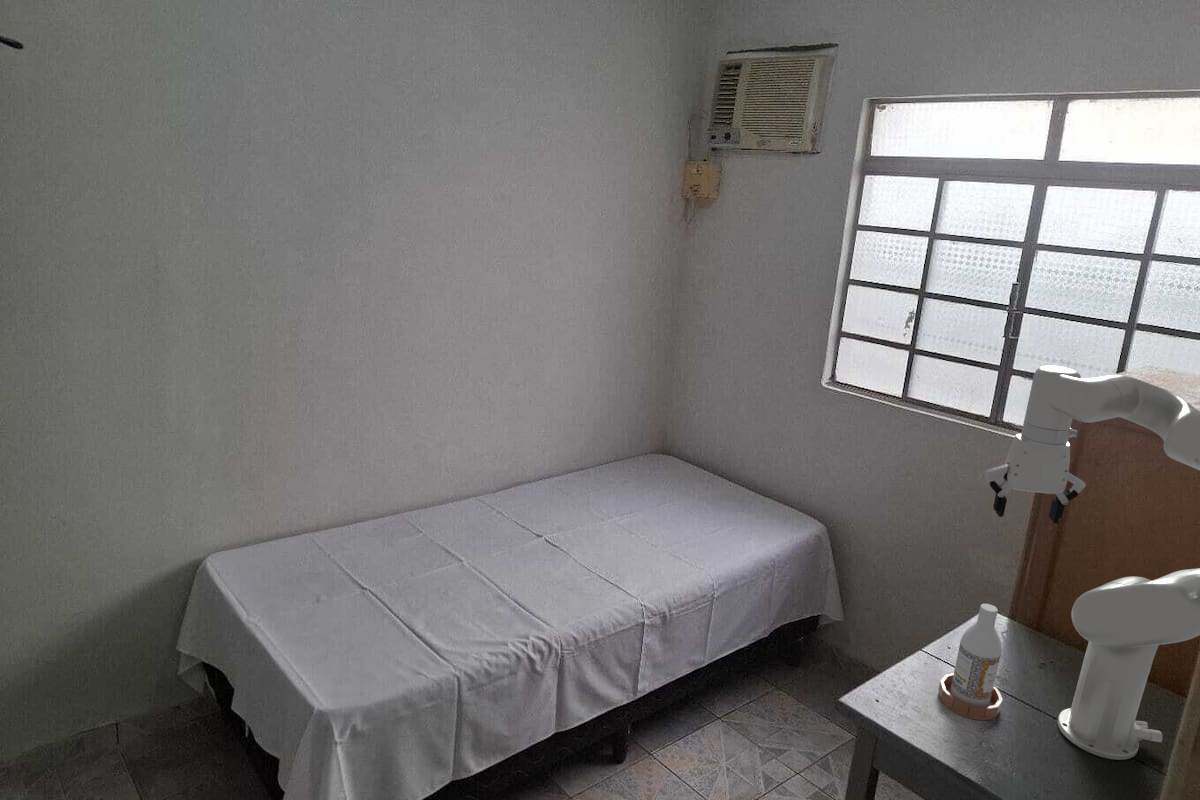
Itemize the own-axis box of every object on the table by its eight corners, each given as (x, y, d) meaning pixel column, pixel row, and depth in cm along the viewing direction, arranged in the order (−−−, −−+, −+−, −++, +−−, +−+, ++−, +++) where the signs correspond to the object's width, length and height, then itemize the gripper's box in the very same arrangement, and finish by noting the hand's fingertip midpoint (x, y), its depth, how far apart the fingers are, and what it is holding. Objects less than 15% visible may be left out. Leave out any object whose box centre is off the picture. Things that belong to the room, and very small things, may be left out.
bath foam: (974, 715, 147) (995, 622, 141) (942, 694, 153) (960, 603, 147) (996, 704, 151) (1018, 611, 145) (964, 683, 156) (983, 594, 150)
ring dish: (991, 689, 156) (993, 677, 155) (1005, 724, 146) (1008, 713, 145) (934, 679, 158) (936, 668, 157) (944, 714, 148) (947, 703, 147)
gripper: (1088, 431, 148) (1068, 514, 154) (989, 421, 152) (973, 503, 157) (1104, 445, 141) (1082, 532, 147) (1000, 434, 145) (982, 519, 150)
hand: (1025, 517), depth 152 cm, fingers open, 9 cm apart
